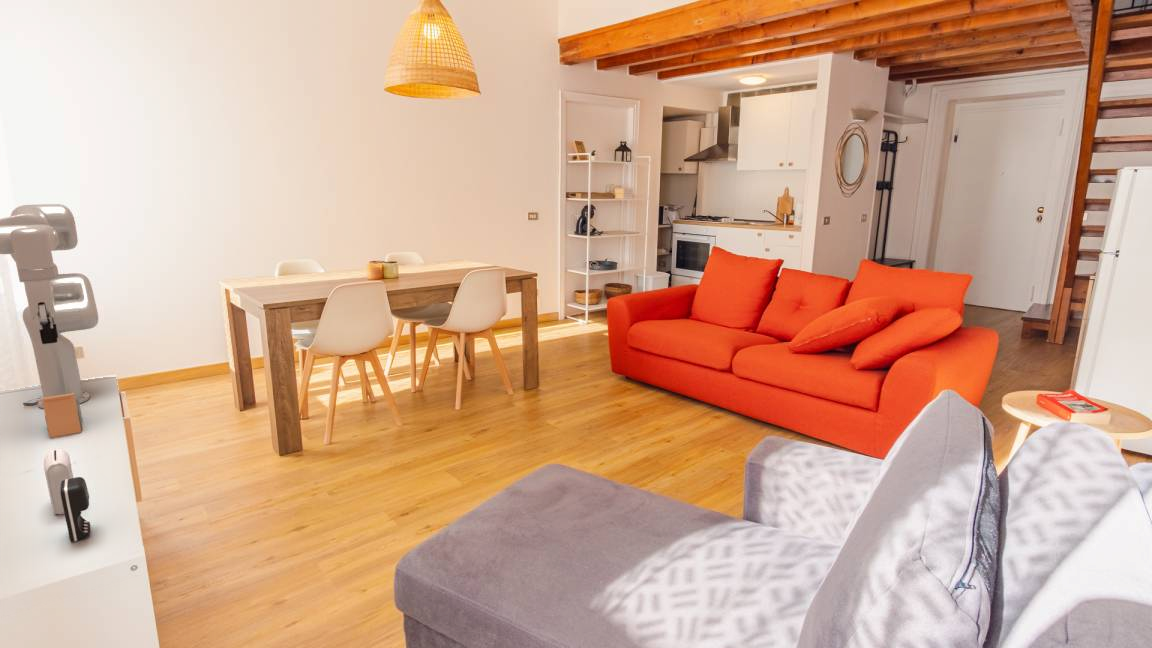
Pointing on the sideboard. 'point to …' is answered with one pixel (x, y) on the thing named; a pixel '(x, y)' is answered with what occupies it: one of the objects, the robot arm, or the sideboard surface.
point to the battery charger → (75, 507)
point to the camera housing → (78, 414)
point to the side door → (61, 415)
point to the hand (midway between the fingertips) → (50, 340)
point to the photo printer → (57, 475)
